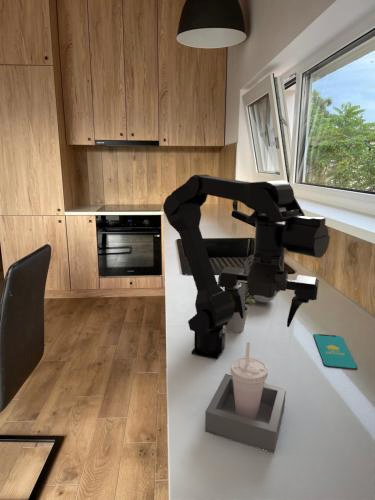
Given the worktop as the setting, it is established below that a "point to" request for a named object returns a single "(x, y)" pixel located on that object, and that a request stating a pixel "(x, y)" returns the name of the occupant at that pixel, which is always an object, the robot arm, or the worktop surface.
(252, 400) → the smoothie
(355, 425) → the worktop surface
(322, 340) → the smartphone
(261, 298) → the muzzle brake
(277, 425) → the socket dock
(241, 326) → the house plant
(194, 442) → the worktop surface
